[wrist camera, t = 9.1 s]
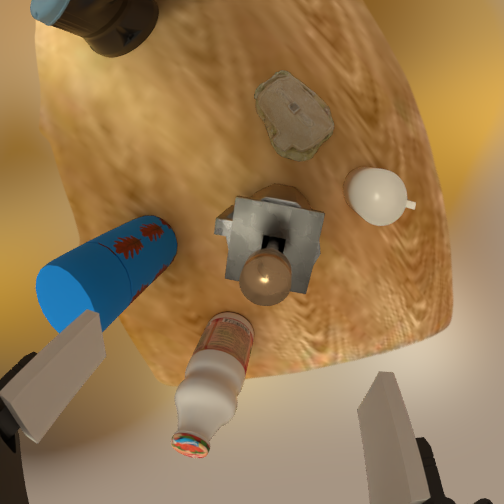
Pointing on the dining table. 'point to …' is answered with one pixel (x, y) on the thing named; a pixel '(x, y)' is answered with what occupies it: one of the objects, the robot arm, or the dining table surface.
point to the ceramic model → (293, 116)
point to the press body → (272, 230)
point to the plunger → (267, 273)
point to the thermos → (105, 272)
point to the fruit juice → (212, 383)
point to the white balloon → (376, 195)
